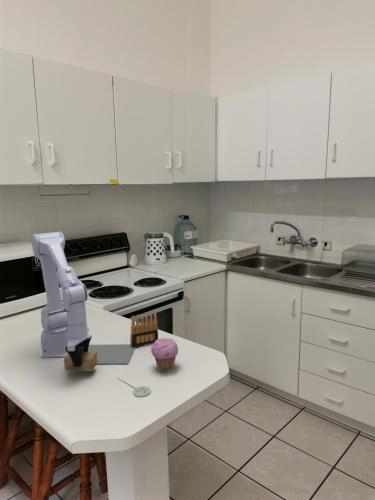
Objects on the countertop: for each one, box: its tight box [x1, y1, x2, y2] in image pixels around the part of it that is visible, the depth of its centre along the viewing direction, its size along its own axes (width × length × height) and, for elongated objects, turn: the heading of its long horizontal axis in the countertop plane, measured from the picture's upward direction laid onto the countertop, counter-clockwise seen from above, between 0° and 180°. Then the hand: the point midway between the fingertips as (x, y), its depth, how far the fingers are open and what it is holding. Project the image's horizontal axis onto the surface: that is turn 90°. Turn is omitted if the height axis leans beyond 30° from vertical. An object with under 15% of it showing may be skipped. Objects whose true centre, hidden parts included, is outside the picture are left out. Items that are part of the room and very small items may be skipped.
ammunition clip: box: [129, 311, 159, 348], centre depth 140 cm, size 11×2×12 cm, turn 119°
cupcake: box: [150, 337, 179, 372], centre depth 122 cm, size 9×9×10 cm
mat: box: [88, 343, 136, 366], centre depth 134 cm, size 20×15×1 cm
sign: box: [116, 377, 152, 398], centre depth 113 cm, size 5×1×15 cm
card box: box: [63, 352, 98, 372], centre depth 121 cm, size 9×5×4 cm, turn 87°
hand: (80, 362), depth 121 cm, fingers closed on card box, 5 cm apart
